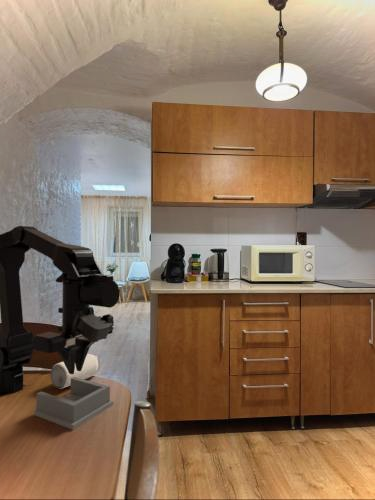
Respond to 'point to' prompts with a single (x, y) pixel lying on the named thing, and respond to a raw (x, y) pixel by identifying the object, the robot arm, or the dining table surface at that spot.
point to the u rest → (74, 403)
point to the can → (63, 378)
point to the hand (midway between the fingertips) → (75, 372)
